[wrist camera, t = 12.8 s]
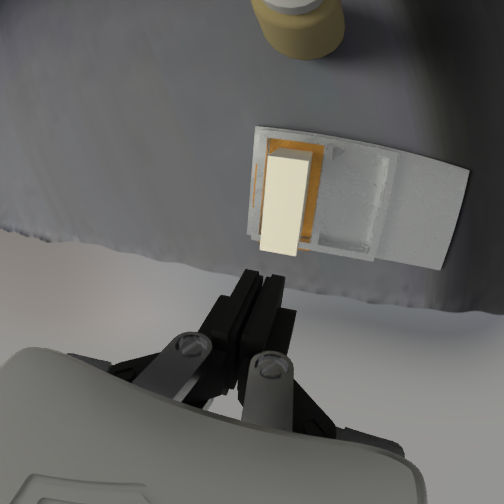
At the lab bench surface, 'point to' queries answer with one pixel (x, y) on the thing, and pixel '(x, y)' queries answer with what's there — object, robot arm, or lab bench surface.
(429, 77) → the lab bench surface
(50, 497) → the robot arm
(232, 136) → the lab bench surface
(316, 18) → the squeeze bottle
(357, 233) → the grey framed tray board
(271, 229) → the tall ivory prism
